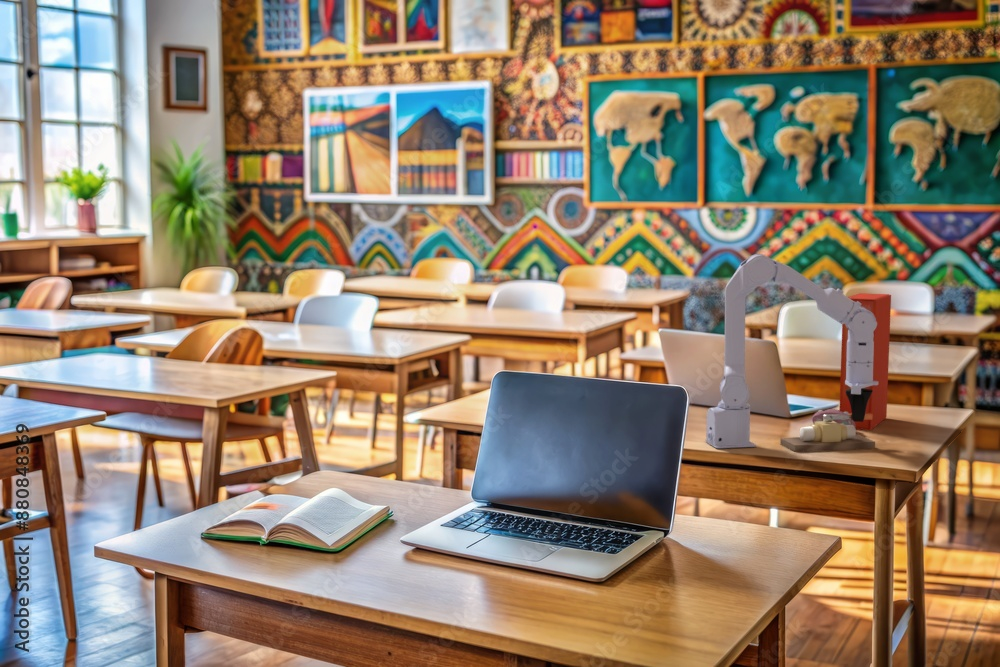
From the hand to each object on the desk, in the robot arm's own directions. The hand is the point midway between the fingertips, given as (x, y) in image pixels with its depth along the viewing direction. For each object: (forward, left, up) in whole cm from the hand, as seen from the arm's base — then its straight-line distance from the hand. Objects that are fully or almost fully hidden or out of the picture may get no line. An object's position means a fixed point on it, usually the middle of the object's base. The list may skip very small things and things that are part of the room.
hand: (858, 421), depth 244 cm
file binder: (+15, +26, -6) cm, 31 cm away
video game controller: (+3, +18, -6) cm, 19 cm away
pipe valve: (-6, +2, -6) cm, 9 cm away
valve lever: (-2, +2, 0) cm, 3 cm away
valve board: (-6, +2, -6) cm, 9 cm away
